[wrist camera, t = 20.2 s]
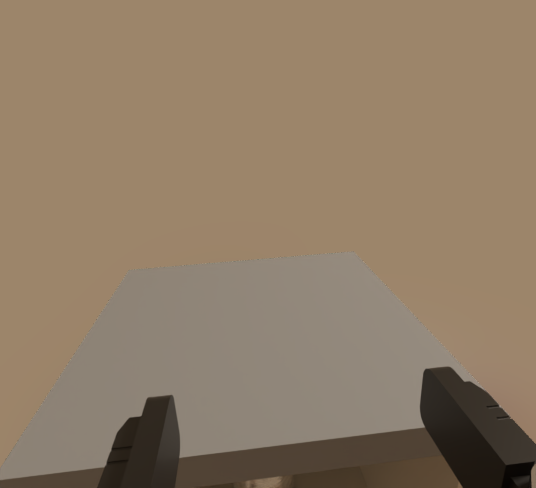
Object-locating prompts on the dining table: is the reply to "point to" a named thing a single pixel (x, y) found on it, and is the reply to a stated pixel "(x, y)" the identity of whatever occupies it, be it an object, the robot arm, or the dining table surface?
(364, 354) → the under-counter cabinet
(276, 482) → the chrome cylinder
